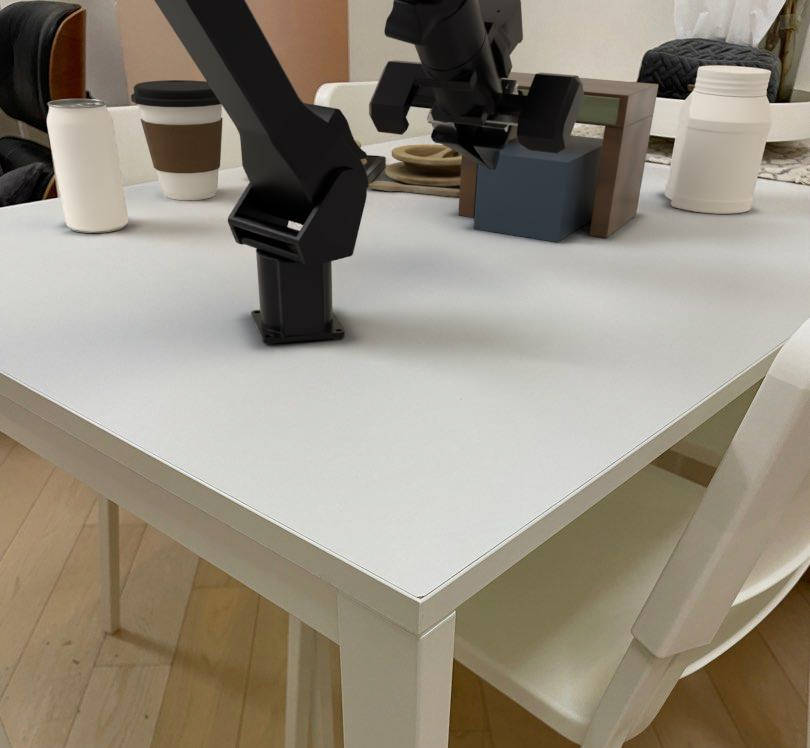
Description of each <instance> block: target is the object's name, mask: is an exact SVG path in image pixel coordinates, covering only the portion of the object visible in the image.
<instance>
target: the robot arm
mask: <svg viewBox="0 0 810 748" xmlns="http://www.w3.org/2000/svg"><path fill="white" fill-rule="evenodd" d="M153 1H154V2H155V4H156V5H157V7H158V8H159V10H160V12H161V13H162V15H163V16H164V18H165V19H166V21H167V22H168V24H169V26H170V27H171V28H172V30H173V32H174V33H175V35H176V36H177V38H178V39H179V41H180V42H181V44H182V46H183V47H184V49H185V50H186V52H187V53H188V55H189V56H190V58H191V59H192V62H194V64H195V66H196V67H197V69H198V70H199V72H200V74H201V75H202V77H203V78H204V81H206V82H207V83H208V84H209V86H210V87H211V89H212V90H213V92H214V94H215V95H216V97H217V98H218V100H219V101H220V103H221V104H222V108H223V109H224V111H225V112H226V114H227V115H228V117H229V118H230V120H231V122H232V123H233V125H234V126H235V128H236V130H237V132H238V135H239V140H240V155H241V163H242V164H241V165H242V168H243V171H244V172H245V175H246V177H247V179H248V181H249V183H248V184H247V186H246V187H245V189H244V191H243V192H242V194H241V195H240V197H239V199H238V200H237V202H236V204H235V206H234V207H233V208H232V210H231V212H230V214H229V215H228V217H227V223H228V226H229V229H230V231H231V234H232V237H233V239H234V242H235V243H236V244H238V245H242V246H243V245H245V246H247V247H250V248H254V249H255V255H256V257H255V258H256V269H257V270H256V271H257V272H256V273H257V284H258V297H259V309H254V310H252V311H251V312H250V313H251V319H252V322H253V324H254V326H255V328H256V331H257V333H258V335H259V337H260V340H261V342H262V343H263V344H266V345H267V344H282V343H292V342H293V343H294V342H304V341H306V342H307V341H316V340H328V339H341V338H344V337H345V336H346V329H345V328H344V326H343V325H342V324H341V322H340V321H339V319H338V317H337V316H336V315H335V312H333V311H334V310H333V274H332V273H333V271H332V262H334V261H339V260H342V259H345V258H349V257H352V256H353V255H354V251H355V248H356V244H357V239H358V235H359V231H360V227H361V222H362V219H363V214H364V210H365V207H366V206H365V205H366V201H367V195H368V189H369V188H368V186H369V182H368V176H367V173H366V170H365V167H364V165H363V163H362V161H361V159H364V158H366V157H367V155H368V154H367V152H366V151H364V150H363V149H362V147H361V148H359V146H358V145H357V143H356V142H355V140H356V139H355V138H354V136H353V133H352V131H351V127H350V124H349V122H348V119H347V118H346V116H345V115H344V113H343V111H342V110H341V109H340V108H336V107H330V106H325V105H319V104H314V103H308V102H304V101H303V100H302V99H301V98H300V96H299V94H298V93H297V90H296V89H295V87H294V85H293V83H292V82H291V80H290V78H289V76H288V75H287V73H286V71H285V69H284V67H283V66H282V64H281V62H280V60H279V58H278V56H277V55H276V52H275V51H274V49H273V48H272V45H271V44H270V42H269V40H268V38H267V37H266V35H265V33H264V31H263V30H262V28H261V26H260V24H259V22H258V21H257V19H256V17H255V15H254V13H253V11H252V10H251V8H250V6H249V4H248V3H247V1H246V0H153ZM523 30H524V29H523V13H522V0H393V2H392V8H391V11H390V13H389V14H388V16H387V18H386V20H385V25H384V31H383V33H384V36H385V37H386V38H390V39H392V40H396V41H400V42H403V43H407V44H411V45H414V48H415V50H416V52H417V56H418V59H419V61H409V60H395V59H394V60H388V61H387V63H386V64H385V66H384V67H383V69H382V71H381V74H380V76H379V79H378V82H377V84H376V86H375V89H374V91H373V94H372V96H371V98H370V101H369V103H368V116H369V117H370V120H371V121H372V123H373V125H374V127H375V129H376V131H377V132H378V133H384V134H393V135H400V136H403V135H404V134H405V133H406V132H407V130H408V129H409V126H410V123H409V121H408V119H407V117H408V113H409V112H410V109H411V108H419V109H429V111H428V113H427V116H426V121H427V123H428V124H431V126H432V128H433V129H432V132H431V134H430V138H431V140H432V142H433V143H435V144H438V145H444V146H446V147H448V148H450V149H452V150H454V151H456V152H458V153H460V154H462V155H464V156H466V157H468V158H469V159H471V160H473V161H474V162H476V163H478V164H480V165H481V166H483V167H485V168H486V169H491V170H495V169H496V167H497V164H498V161H499V155H500V150H503V149H504V148H505V147H506V145H507V143H508V140H509V137H510V135H511V132H512V130H513V127H514V126H517V138H518V141H519V144H521V145H522V146H524V147H525V148H527V149H528V150H532V151H540V152H548V153H559V152H561V151H562V150H564V149H565V148H566V146H567V143H568V140H569V138H570V135H572V132H573V130H574V127H575V125H576V123H575V122H576V119H577V117H578V114H579V111H580V109H581V106H582V103H583V101H584V98H585V96H584V90H583V84H582V82H581V80H580V78H581V77H579V75H574V74H573V75H572V74H564V73H551V72H550V73H549V72H537V73H534V74H535V76H534V79H533V81H532V84H531V87H530V89H529V92H528V94H527V95H523V92H522V91H521V90H517V88H518V81H517V80H508V79H503V78H508V77H509V74H510V72H512V70H513V63H512V59H511V55H512V53H513V52H514V51H515V49H516V48H517V46H518V44H521V43H522V42H523V40H524V31H523ZM290 222H292V223H296V224H299V225H301V228H300V230H299V229H296V228H292V227H289V223H290Z"/></svg>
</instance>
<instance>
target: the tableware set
mask: <svg viewBox="0 0 810 748" xmlns="http://www.w3.org/2000/svg"><path fill="white" fill-rule="evenodd" d="M354 140H355V142H356V143H357V145H358V146H359V148H361V149H362V144H361V142H360V141H358V140H357V139H354ZM391 157H392V158H393V159H395V160H396V161H398V162H394V163H390V164H388V165H387V166H385V168H384V171H385V175H386V176H387V177H388V178H390V179H392V180H395V181H398V182H393V181H386V180H385V181H383V180H373V181H372V182H371V183H370V184H369V186H368V189H372V190H379V191H385V192H406V193H414V194H424V195H432V196H443V197H453V198H459V194H460V188H452V187H460V177H461V160H462V154H460V153H458V152H456V151H454V150H452V149H450V148H448V147H446V146H444V145H442V144H406V145H402V146H397V147H394V148H393V149H392V150H391ZM361 161H362V163H363V165H365V164H366V163H367V160H366V159H365V158H364V159H361ZM399 182H400V183H399ZM402 183H403V184H402Z"/></svg>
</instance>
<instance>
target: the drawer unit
mask: <svg viewBox="0 0 810 748" xmlns="http://www.w3.org/2000/svg"><path fill="white" fill-rule="evenodd" d="M535 74H536V73H530V72H518V71H517V72H516V71H511V72H510V74H509V77H508V78H503V79H508V80H517V81H518V88H517V90H521V91H522V92H523V95H527V94H528V92H529V89H530V87H531V84H532V81H533V79H534V76H535ZM579 78H580V80H581V82H582V84H583V90H584V96H585V98H584V101H583V103H582V106H581V109H580V111H579V114H578V117H577V119H576V122H575V124H580V125H591V126H599V127H602V126H603V127H604V129H603V138H602V139H603V144H602V151H601V158H600V165H599V172H598V179H597V186H596V193H595V200H594V207H593V214H592V220H590V228H589V236H590V237H597V238H603V239H607V238H609V237H610V236H611V235H612V234H614V233H615V232H616V231H617V230H619V229H620V228H621V227H623V226H624V225H626V224H627V223H628V222H629V221H630V220H632V219H633V218H635V217H636V216H637V212H638V206H639V200H640V196H641V188H642V182H643V178H644V171H645V165H646V161H647V153H648V147H649V142H650V138H651V137H650V136H651V131H652V126H653V125H652V124H653V120H654V119H653V118H654V113H655V107H656V102H657V96H658V90H659V83H650V82H649V83H648V82H635V81H626V80H625V81H622V80H613V79H612V80H611V79H599V78H589V77H588V78H587V77H579ZM516 137H517V126H514V127H513V130H512V132H511V135H510V137H509V140H511V139H514V138H516ZM509 140H508V141H509ZM477 173H478V163H476V162H474V161H473V160H471V159H469V158H468V157H466V156H464V155H462V160H461V177H460V186H459V189H460V194H459V197H458V211H457V212H458V213H457V215H458V216H462V217H467V218H468V217H469V218H474V217H475V202H476V188H477Z"/></svg>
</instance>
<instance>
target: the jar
mask: <svg viewBox="0 0 810 748" xmlns="http://www.w3.org/2000/svg"><path fill="white" fill-rule="evenodd" d="M771 74H772V71H771V70H770V69H765V68H759V67H751V66H737V65H702V66H698V68H697V73H696V78H695V83H694V88H693V89H692V91H691V92H690V93H689V95H688V96H687V97H686V98H685V100H684V101H682V103H681V106H680V109H679V113H678V119H677V120H678V121H677V127H676V133H675V138H674V144H673V149H672V155H671V160H670V166H669V169H668V170H669V171H668V175H667V181H666V184H665V188H664V196H665V197H666V198H667V199H669V200H670V205H671V207H673V208H674V209H675V208H676V209H679V210H683V211H689V212H695V213H703V214H717V215H718V214H719V215H722V214H723V215H726V214H727V215H729V214H732V215H733V214H742V213H746V212H749V211H750V210H751V209H752V205H753V201H754V195H755V194H754V193H755V190H756V186H757V181H758V178H759V174H760V169H761V165H762V161H763V156H764V153H765V148H766V144H767V140H768V136H769V132H770V131H771V127H772V123H773V109H772V107H771V103H770V101H769V98H768V96H767V95H768V90H767V89H768V87H769V82H770V78H771V76H772V75H771Z"/></svg>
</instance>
